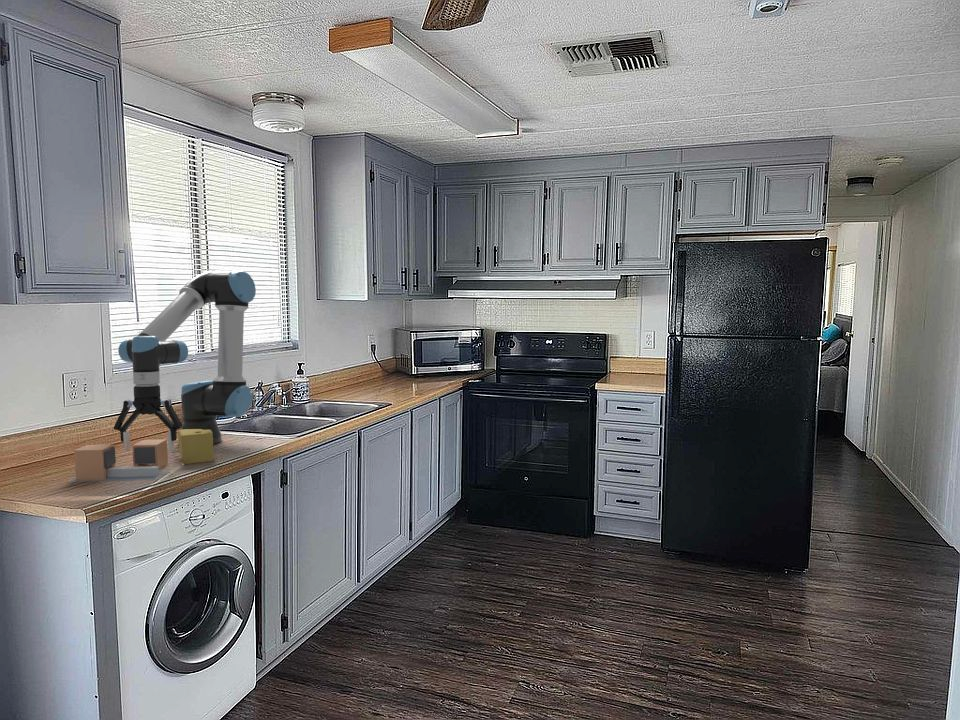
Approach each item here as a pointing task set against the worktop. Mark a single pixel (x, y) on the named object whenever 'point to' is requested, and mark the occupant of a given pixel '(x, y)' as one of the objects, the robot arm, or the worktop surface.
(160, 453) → the block
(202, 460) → the cheese
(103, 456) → the block
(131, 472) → the rail
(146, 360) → the robot arm
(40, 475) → the worktop surface
